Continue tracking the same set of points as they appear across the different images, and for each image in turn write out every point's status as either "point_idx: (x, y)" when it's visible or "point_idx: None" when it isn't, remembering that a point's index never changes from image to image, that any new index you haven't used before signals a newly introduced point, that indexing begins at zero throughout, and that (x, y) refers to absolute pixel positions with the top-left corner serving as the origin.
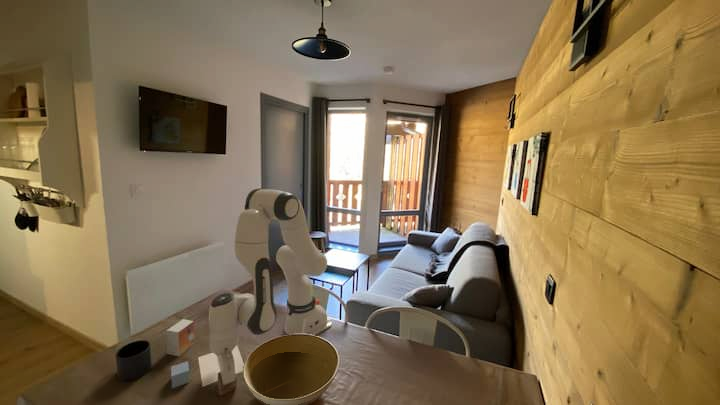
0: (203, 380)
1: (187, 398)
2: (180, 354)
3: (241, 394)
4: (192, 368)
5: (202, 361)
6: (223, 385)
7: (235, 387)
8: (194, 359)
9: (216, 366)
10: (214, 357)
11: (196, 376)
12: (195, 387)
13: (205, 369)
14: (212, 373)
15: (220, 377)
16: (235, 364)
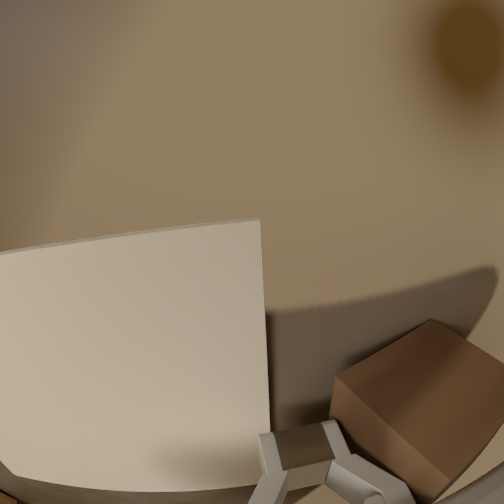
0: (220, 485)
1: (304, 496)
2: (9, 500)
3: (486, 281)
4: (91, 496)
5: (44, 474)
6: (484, 448)
7: (451, 337)
8: (26, 480)
9: (97, 442)
10: (6, 431)
11: (160, 495)
12: (249, 493)
13: (116, 478)
14: (170, 461)
15: (436, 499)
16: (104, 328)
